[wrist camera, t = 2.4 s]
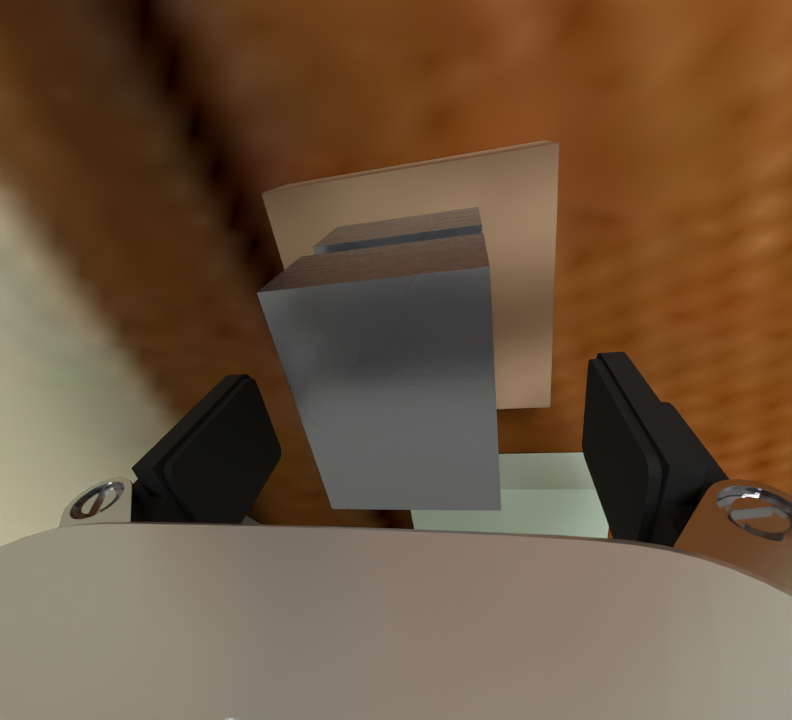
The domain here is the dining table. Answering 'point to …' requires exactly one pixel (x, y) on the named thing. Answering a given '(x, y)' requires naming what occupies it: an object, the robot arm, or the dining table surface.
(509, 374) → the stand walnut
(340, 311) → the block
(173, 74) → the dining table surface
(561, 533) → the stand green
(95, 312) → the dining table surface
